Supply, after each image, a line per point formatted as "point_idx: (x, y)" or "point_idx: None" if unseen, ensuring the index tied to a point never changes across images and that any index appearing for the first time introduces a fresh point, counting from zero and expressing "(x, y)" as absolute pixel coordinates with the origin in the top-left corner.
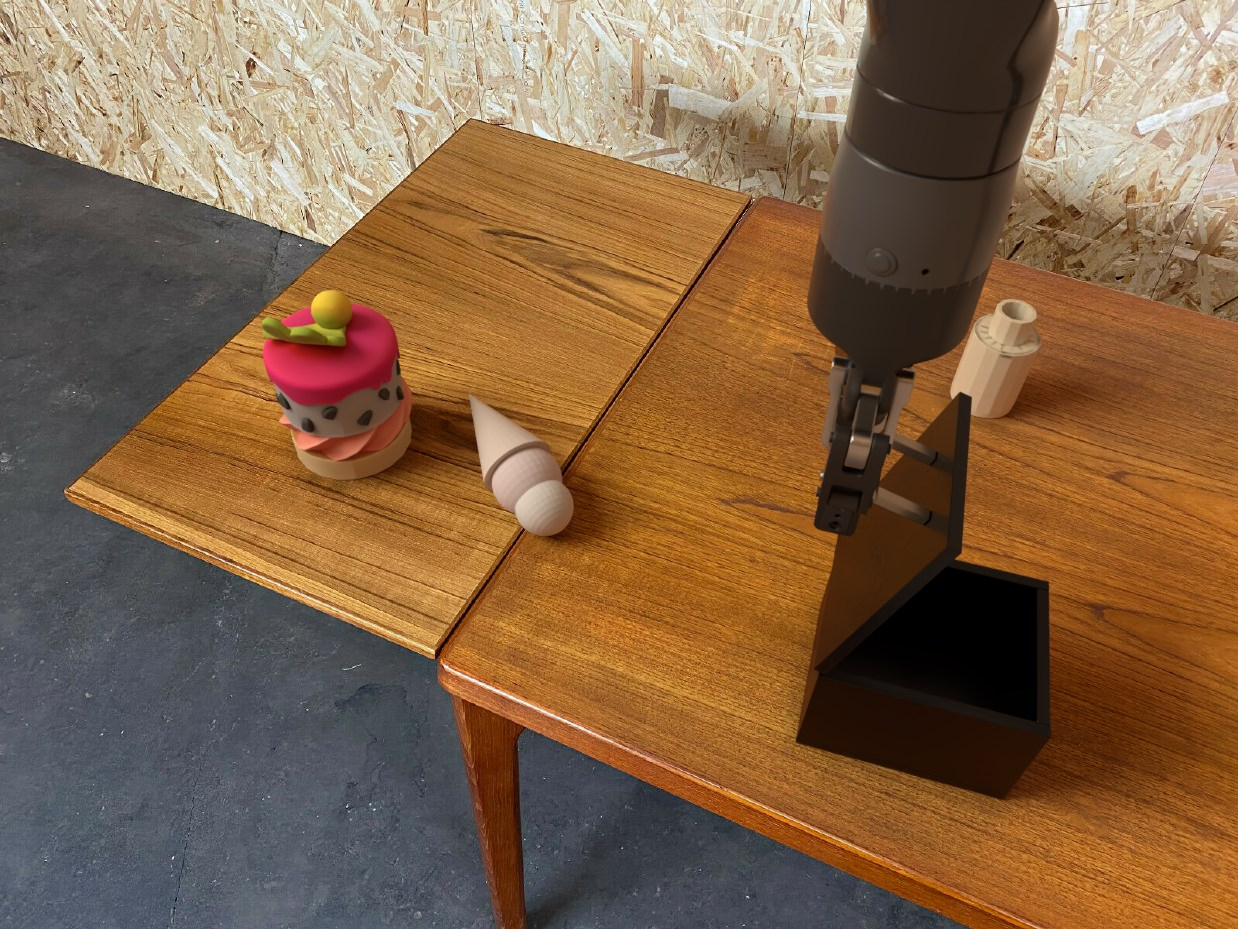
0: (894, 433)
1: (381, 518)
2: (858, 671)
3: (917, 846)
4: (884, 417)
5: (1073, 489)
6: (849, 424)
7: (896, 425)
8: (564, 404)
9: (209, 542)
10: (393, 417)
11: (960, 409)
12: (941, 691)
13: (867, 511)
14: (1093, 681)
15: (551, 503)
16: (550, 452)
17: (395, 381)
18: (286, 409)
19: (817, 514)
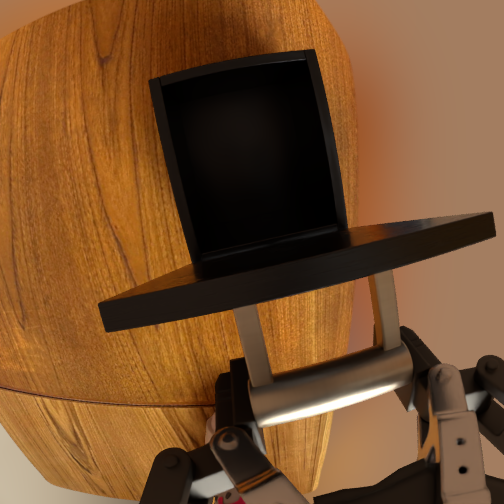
0: (480, 444)
1: (279, 442)
2: (248, 189)
3: (343, 119)
4: (491, 478)
5: (15, 116)
6: None
7: (482, 457)
8: (154, 422)
9: (320, 465)
10: None
11: (155, 319)
12: (233, 130)
13: (502, 360)
14: (165, 44)
15: None
16: (207, 424)
17: (234, 491)
18: None
19: None
